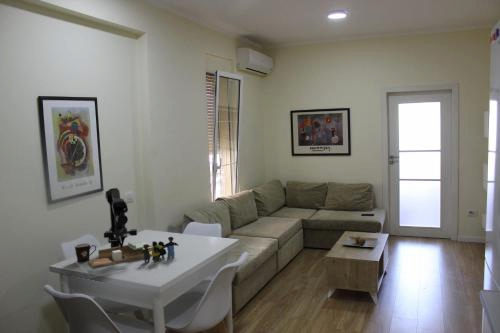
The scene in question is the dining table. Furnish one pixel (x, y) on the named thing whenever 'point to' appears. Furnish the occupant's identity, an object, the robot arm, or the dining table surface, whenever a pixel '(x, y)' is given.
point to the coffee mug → (83, 252)
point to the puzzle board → (106, 260)
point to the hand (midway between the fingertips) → (121, 247)
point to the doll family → (159, 250)
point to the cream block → (116, 255)
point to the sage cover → (137, 245)
